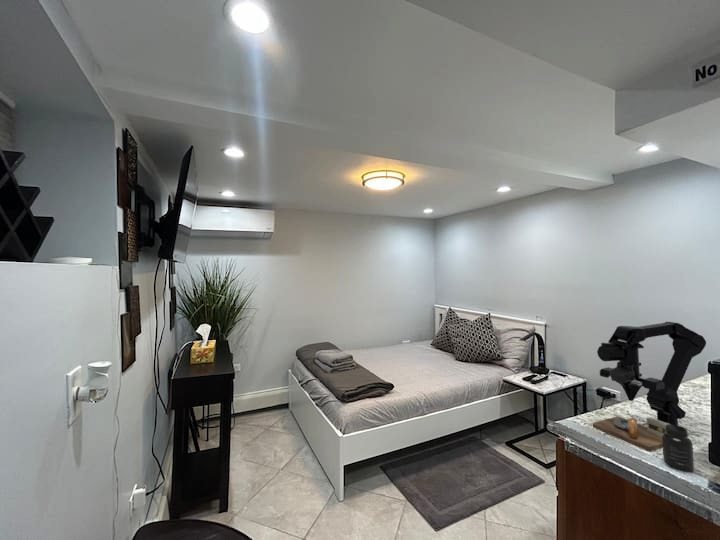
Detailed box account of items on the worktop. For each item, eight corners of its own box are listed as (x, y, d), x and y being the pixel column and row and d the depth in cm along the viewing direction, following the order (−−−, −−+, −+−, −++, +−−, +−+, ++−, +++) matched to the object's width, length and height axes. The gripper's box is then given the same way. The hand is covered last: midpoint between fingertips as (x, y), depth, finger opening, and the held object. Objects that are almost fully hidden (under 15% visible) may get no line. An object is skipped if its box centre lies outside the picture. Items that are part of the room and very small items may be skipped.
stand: (618, 419, 130) (617, 404, 130) (676, 442, 112) (676, 424, 112) (592, 426, 125) (592, 410, 125) (650, 451, 107) (649, 432, 107)
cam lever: (611, 420, 125) (610, 405, 125) (633, 423, 123) (632, 408, 123) (622, 436, 114) (621, 419, 114) (647, 439, 111) (646, 422, 111)
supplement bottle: (662, 457, 104) (660, 420, 104) (692, 464, 100) (690, 426, 100) (664, 467, 99) (662, 429, 99) (696, 475, 95) (694, 435, 95)
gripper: (589, 356, 126) (591, 395, 126) (645, 369, 109) (647, 414, 109) (607, 353, 130) (609, 391, 130) (664, 364, 113) (666, 408, 113)
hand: (631, 400), depth 120 cm, fingers closed
